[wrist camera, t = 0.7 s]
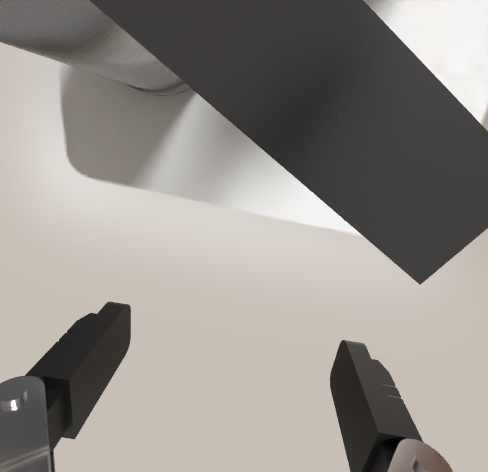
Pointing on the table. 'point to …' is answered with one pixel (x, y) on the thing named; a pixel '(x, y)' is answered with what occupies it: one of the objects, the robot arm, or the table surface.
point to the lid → (333, 112)
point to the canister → (84, 42)
